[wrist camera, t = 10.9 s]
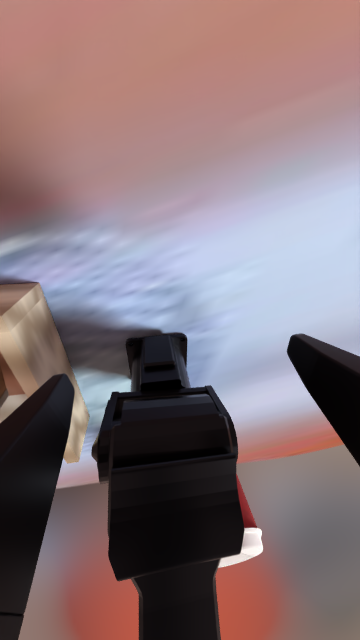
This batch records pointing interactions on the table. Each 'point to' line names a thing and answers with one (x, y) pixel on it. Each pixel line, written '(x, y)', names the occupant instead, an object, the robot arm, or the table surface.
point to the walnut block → (2, 389)
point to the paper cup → (246, 534)
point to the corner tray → (35, 356)
